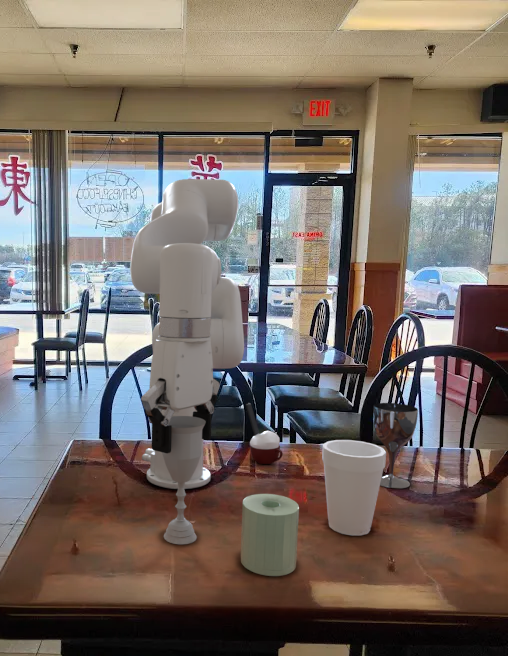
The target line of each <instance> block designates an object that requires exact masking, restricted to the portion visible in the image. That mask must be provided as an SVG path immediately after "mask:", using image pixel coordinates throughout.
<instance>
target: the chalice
mask: <svg viewBox="0 0 508 656" xmlns="http://www.w3.org/2000/svg"><path fill="white" fill-rule="evenodd" d="M205 423H206V421H205V420H203V419H201V418H197V417H191V416H172V418H171V420H170V422H169V424H168V425H172V441H171V452H170V453H163V452H162V455H163V458H164V461H165V464H166V467H167V469H168V471H169V473H170V475H171V478H172V480H173V481H175V482H178V489H177V491H176V493H175V496H176V498H177V503H176V504H175V505H174V508H176V511H177V516H176V517H175V518H174V519H171V521H170V522H169V523H168V525H167V528H166V530H165V532H164V534H163V539H164V540H165V541H166V542H167V543H170V544H174V545H189V544H192V543H194V542H196V541H197V539H198V536H197V535H196V533H195V529H194V527H193V524H192V523H191V522H190V520H188V519H186V517H185V514H184V513H185V509H186V508H187V505H186V504H185V501H184V500H185V498H186V496H187V493H186V491H185V490H186V489H184V485H185V482H188V481H190V479H191V478H192V476H193V474H194V472H195V470H196V468H197V465H198V463H199V460H200V457H201V453H202V429H203V427H204V425H205Z"/></svg>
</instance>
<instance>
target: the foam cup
mask: <svg viewBox="0 0 508 656" xmlns="http://www.w3.org/2000/svg"><path fill="white" fill-rule="evenodd" d="M321 452H322V454H321V460H322V463H323V470H324V471H323V472H324V482H325V483H324V485H325V498H326V509H327V510H326V511H327V519H328V520H327V521H328V526H329V528H330V529H332V530H333V531H334V532H337V533H339V534H342V535H347V536H364V535H368V534H369V533H370V531H371V528H372V524H373V519H374V514H375V510H376V505H377V502H378V501H377V500H378V497H379V492H380V487H381V485H380V482H381V478H382V475H383V473H384V469H385V468H386V462H387V460H386V459H387V451H386V450H385V448H384V447H381V446H380V445H377V444H375V443H370V442H366V441H361V440H352V439H335V440H328V441H326V442H324V443H323V444H322V451H321Z"/></svg>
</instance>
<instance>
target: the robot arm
mask: <svg viewBox="0 0 508 656" xmlns="http://www.w3.org/2000/svg"><path fill="white" fill-rule="evenodd" d="M161 199H162V200H161V202H159V203H157V204H156V205H155V206H154V207H153V208H152V210H151V213H150V222H148V223H146V224H145V225H144V226H142V227H141V228H139V230H138V231H137V233H136V235H135V238H134V240H133V244H132V250H131V256H130V264H129V265H130V266H129V273H130V274H129V275H130V280H131V283H132V285H133V287H134V288H135V289H136V291H138V292H140V293H143V294H147V295H148V294H149V295H151V294H152V295H159V312H158V315H159V317H158V323H157V324H156V325H155V326H154V328H153V330H152V333H151V347H152V357H151V363H150V364H151V365H150V374H149V389H148V390H147V391H146V392H145V393H144V394H142V396H141V399H140V400H141V404H142V406H143V409H144V414H145V416H146V417H147V418H148V422H149V424H151V448H146V449H145V451H144V453H143V454H142V455H141V460H142V461H144V462H148V463H150V467H149V468H148V469H147V471H146V479H147V480H148V482H149V483H151V484H152V485H155V486H158V487H160V488H166V489H171V490H178V482H175V481H173V480H172V478H171V475H170V473H169V471H168V469H167V467H166V464H165V461H164V458H163V455H162V452H163V453H170V452H171V441H172V425H168V424H169V422H170V420H171V418H172V416H191V417H197V418H201V419H203V420H205V421H206V423H205V425H204V427H203V429H202V453H201V457H200V460H199V463H198V465H197V468H196V470H195V472H194V474H193V476H192V478H191V479H190V481H188V482H185V485H184V490H191V489H197V488H200V487H204V486H206V485H207V484H209V482H211V478H212V477H211V476H212V475H211V472H210V471H209V470H208V469H207V468H205V467H204V446H205V444H204V443H205V442H204V440H206V441H209V440H211V439H212V417H213V415H212V414H214V412H215V407H214V406H215V404H216V402H217V400H218V396H217V395H218V394H219V389H220V386H221V384H220V381H218V380H216V379H215V378H214V369H216V370H217V369H218V370H220V369H222V370H223V369H234V368H236V367H238V366H239V365H240V364H241V363H242V361H243V359H244V354H245V353H244V352H245V335H244V324H243V323H244V322H243V312H242V299H241V292H240V287H239V286H238V283H236V281H235V280H234V279H232V278H230V277H227V276H222V273H223V272H222V260H221V258H220V257H219V256H218V255H217V252H216V251H215V250H214V249H212V248H211V247H209V246H208V245H205V244H203V243H204V242H222V241H225V240H227V239H229V238H230V236H231V234H232V232H233V229H234V226H235V223H236V220H237V218H238V212H239V196H238V192H237V189H236V187H235V186H234V184H233V183H231V182H230V181H229V180H226V179H207V178H183V179H178V180H175V181H172V182H171V183H169V184H168V185H167V187H166V188H165V190H164V191H163V194H162V198H161Z"/></svg>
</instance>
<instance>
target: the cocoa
mask: <svg viewBox="0 0 508 656" xmlns="http://www.w3.org/2000/svg"><path fill="white" fill-rule="evenodd" d="M245 408H246V411H247V415H248V419H249V422H250V425H251V426H250V427H251V429H252V434H253V436H252V438H251V439H250V441H249V446H250V448H249V449H250V453H251V457H252V459H253V460H254V461H255V462H256V463H257V464H261V465H271V464H274V463H276V462H278V461H279V460H281V459H282V457H283V451H282V449H281V445H280V444H281V443H280V440H281V439H280V437H279V435H278V434H277V433H275V432H273V431H271V430H265V431H263V432H261V433H260V430H259V427H258V424H257V419H256V416H255V413H254V409H253V406H252V403H250V402H248V403H245Z"/></svg>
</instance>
